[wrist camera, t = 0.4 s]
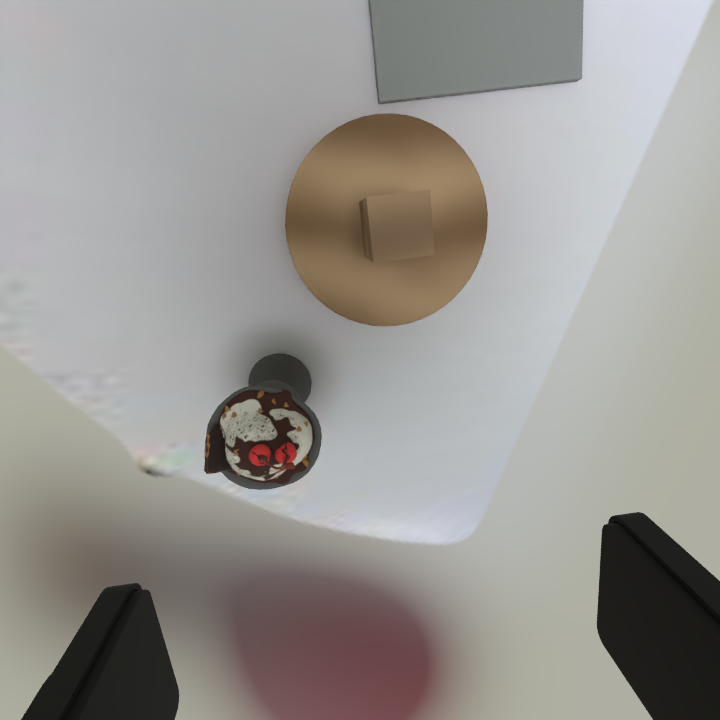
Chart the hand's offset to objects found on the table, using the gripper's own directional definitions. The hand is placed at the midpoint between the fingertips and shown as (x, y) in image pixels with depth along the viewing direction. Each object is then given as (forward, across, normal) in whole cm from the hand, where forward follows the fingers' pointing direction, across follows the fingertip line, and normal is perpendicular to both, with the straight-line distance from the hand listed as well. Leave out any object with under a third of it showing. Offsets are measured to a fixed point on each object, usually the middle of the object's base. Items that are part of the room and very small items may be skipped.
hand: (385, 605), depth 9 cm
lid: (+22, -4, -7) cm, 24 cm away
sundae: (+28, +5, +4) cm, 28 cm away
